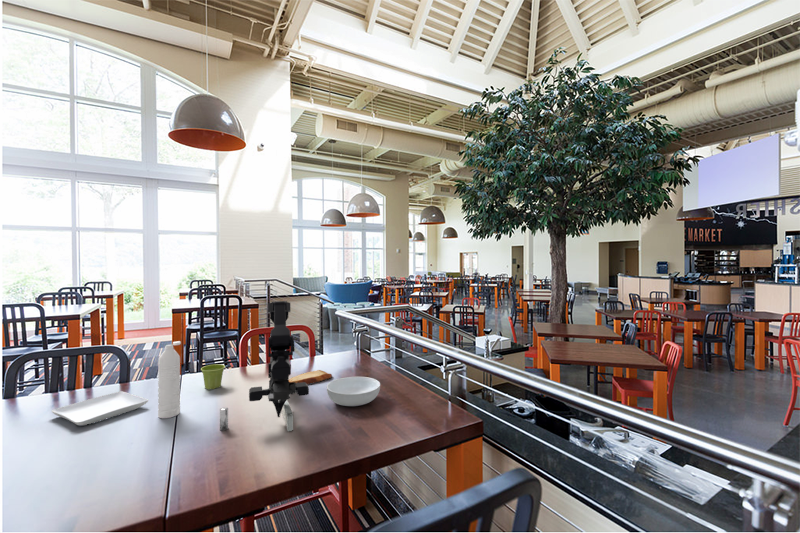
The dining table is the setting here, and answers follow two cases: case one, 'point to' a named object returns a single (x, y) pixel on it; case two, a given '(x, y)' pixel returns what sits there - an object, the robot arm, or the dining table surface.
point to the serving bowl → (353, 390)
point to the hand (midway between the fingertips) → (278, 416)
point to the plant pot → (212, 375)
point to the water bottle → (169, 382)
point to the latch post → (223, 418)
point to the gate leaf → (288, 416)
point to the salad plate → (100, 408)
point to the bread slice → (311, 377)
